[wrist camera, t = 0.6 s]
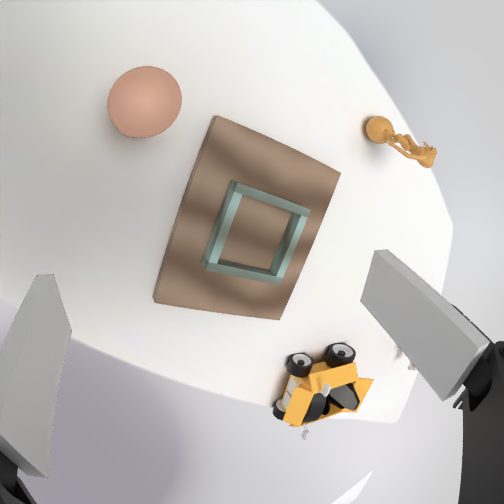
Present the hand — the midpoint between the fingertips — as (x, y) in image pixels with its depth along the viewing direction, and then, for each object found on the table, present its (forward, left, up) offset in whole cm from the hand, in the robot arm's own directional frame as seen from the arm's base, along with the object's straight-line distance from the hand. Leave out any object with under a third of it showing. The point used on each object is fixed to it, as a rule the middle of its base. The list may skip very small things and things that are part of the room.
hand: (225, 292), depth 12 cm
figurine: (-17, +25, -24) cm, 39 cm away
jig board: (+2, +12, -23) cm, 26 cm away
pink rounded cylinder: (-7, -5, -23) cm, 25 cm away
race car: (+25, +35, -24) cm, 50 cm away
